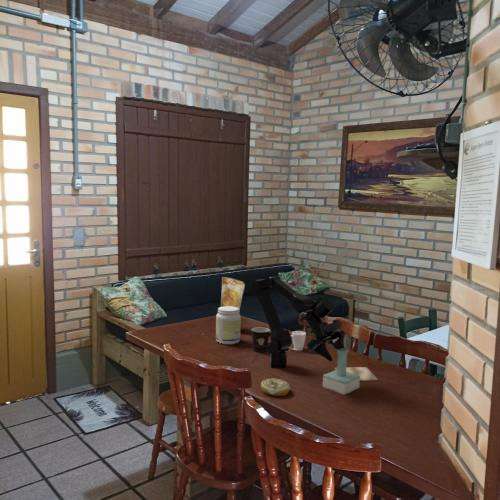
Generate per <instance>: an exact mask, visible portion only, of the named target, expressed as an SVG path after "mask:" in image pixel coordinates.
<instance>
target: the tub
mask: <svg viewBox="0 0 500 500" xmlns="http://www.w3.org/2000/svg"><path fill="white" fill-rule="evenodd" d="M360 382H361V381H360V378H359V379H356V380H354V381H352V382H350V383H347V384H342V383H339V382H336V381H333V380H330V379H327V378H324V377H323V376H322V388H324V389H326V390H329V391H332V392H335V393H338V394H340V395H343V396H345V395H347V394H349V393H352V392H354V391H356V390H359V389H360Z"/></svg>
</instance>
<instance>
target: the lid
mask: <svg viewBox="0 0 500 500" xmlns="http://www.w3.org/2000/svg"><path fill="white" fill-rule="evenodd" d="M349 350H350V349H347V348H345V349H343V348H342V349H340V350H337V349H336V354H337V363H336V365H337V366H336V367H337V370H335V369H334V370H332V371H330V372H326V373H323V375H322V378H323V377H324V378H327V379H330V380H333V381H336V382H339V383H342V384H347V383H350V382H352V381H354V380H356V379H359V378H360V376H358V375H355V374H352V373H349V372H346V367H347V366H348V364H347V362H348V353H349Z"/></svg>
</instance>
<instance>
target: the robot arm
mask: <svg viewBox="0 0 500 500" xmlns="http://www.w3.org/2000/svg"><path fill="white" fill-rule="evenodd" d="M251 281H252V282H251V283H250V286H249V287H250V290H251V293H252V294H253V296H254V297H255V298H256V299H257V300H258V301H259V303H260V306H261V308H262V311H263V313H264V316H265V319H266V321H267V323H268V326H269V330H270V333H271V335H270V337H269V338H270V342H271V344H269V345H268V346H267V351H266V352H267V353H269V355H270V356H269V366H270V368H275V369H276V368H283V369H284V368H285V369H286V368H287V366H286V365H287V362H288V358H287V357H288V356H287V352H288V351H289V350H290V348H291V346H292V344H293V337H291V334H290V330H289V329H285V328H283V326H282V324H281V321H280V319H279V316H278V313H277V312H276V311H277V310H276V308H275V306H274V303H273V300H272V299H271V298H272V297H271V293H272V289H274V290H275V291H276V292H277V293H278V294H280V296H282V297H283V298H285V299H286V301H289V302H290V305H291V307H292V308H293V309H294V311H296V313H299V314H301V317H300V318H301V319H300V322H301V323H303V322H306V323H307V325H308V327H309V328H310V334H311V335H312V334H314V337H313V338H312V339H311V340H309V341H308V342H307V343H306V347H307V349H308V350H309V351H310V352H311V351H312V352H313V353H316V354H317V355H320V356H321V357H323V358H324V359H326V360H327V361H329V362H332V361H333V357H332V356H331V354H330V352H329V351H328V349H327V343H328V342H330V343H331V345H332V347H333V348H335V350H336V351H337V350H340V349H342V348H343V349H346V348H345V344H344V340H345V337H346V335H347V333H346V332H345V330H343V329H342V326H343V323H342V322H341V321H340V319H339V318H337V319H333V320H332V322H331V323H328V322H327V321H324V320H323V319H325V318H326V317H327V316H328V315H329V314H331V312H332V311H334V309H335V305H334V303H333V301H331V300H330V299H328V298H326V296H320V297H319V298H318V300H316V301H314V300H313V299H312V298H311V297H309V296H307V295H305V294H302V293H300V292H298V291H296V290H294V289H293V288H291V286H289V285H288V284H286V283H285V282H284V281H282V280H281V278H280V277H278V276H270V277H268V278H261V279H255V280H251ZM271 288H272V289H271ZM302 313H305V314H302ZM289 347H290V348H289Z"/></svg>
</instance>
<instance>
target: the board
mask: <svg viewBox="0 0 500 500" xmlns="http://www.w3.org/2000/svg"><path fill="white" fill-rule="evenodd" d="M335 370H337V366H336V367H335V366H334V371H335ZM346 372H349V373H352V374H355V375H358V376H360V382H377V381H378V380H379V379H378V378H377V377H376V376H375V375H374V374H373V373H372V371H370V369H369V368H368V367H366V366H364V367H362V366H356V367H355V366H348V367H347V366H346Z"/></svg>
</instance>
